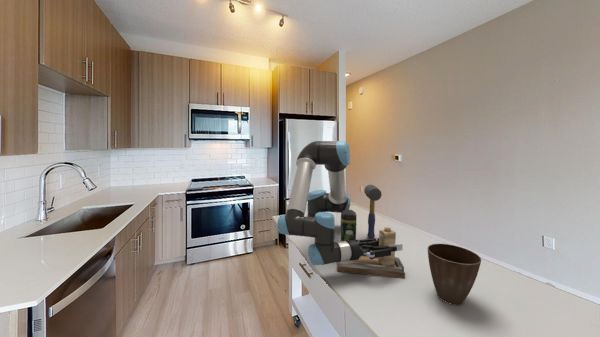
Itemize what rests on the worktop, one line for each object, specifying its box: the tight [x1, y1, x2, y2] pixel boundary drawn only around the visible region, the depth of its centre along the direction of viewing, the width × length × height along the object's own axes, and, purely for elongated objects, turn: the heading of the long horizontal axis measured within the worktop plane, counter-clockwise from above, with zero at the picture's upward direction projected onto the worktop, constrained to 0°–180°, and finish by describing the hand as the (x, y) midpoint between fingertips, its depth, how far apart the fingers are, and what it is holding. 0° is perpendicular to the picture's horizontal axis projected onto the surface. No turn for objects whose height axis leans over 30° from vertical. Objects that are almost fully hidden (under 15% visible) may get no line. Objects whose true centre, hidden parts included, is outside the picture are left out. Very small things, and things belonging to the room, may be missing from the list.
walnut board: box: [337, 256, 406, 279], centre depth 97 cm, size 13×26×4 cm, turn 80°
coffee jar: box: [340, 209, 357, 241], centre depth 117 cm, size 10×8×19 cm
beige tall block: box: [378, 226, 397, 266], centre depth 94 cm, size 4×5×15 cm
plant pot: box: [427, 243, 482, 306], centre depth 77 cm, size 15×15×16 cm
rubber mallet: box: [363, 184, 382, 239], centre depth 126 cm, size 12×8×30 cm, turn 175°
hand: (397, 244), depth 96 cm, fingers closed on beige tall block, 4 cm apart
